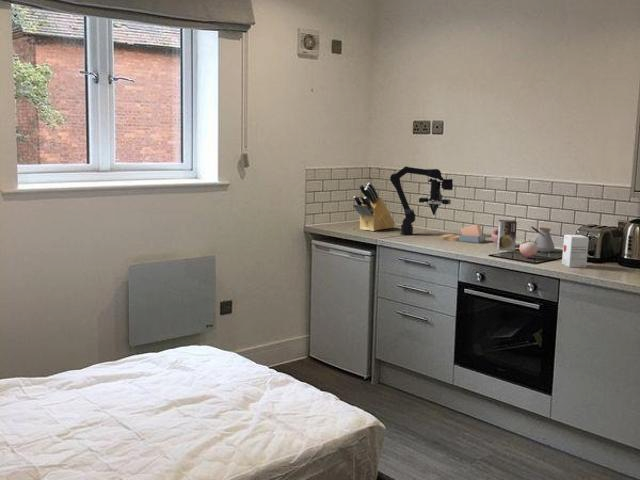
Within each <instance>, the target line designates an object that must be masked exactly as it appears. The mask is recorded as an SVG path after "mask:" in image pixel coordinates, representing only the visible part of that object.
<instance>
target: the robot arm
mask: <svg viewBox="0 0 640 480" xmlns="http://www.w3.org/2000/svg"><path fill="white" fill-rule="evenodd" d="M406 174H414V175H418V176H419V175H421V176H426V177H429V179H428V180H427V183H430V191H429V193H430V197H429V198H428V197H419V198H418V203H427V205H428V206H429V208H430V209H431V213H432V215H433V216H435V215H436V214H437V210H438V208H439V206H441V205H451V204H452V202H451V199H448V198H443V195H442V193H441V189H442V190H443V191H453V188H454V183H453V180H454V179H452V178H449V179H447V178H444V177H443V176H442V172H441V170H440V169H438V168H428V169H427V168H421V167H420V168H419V167H413V166H412V167H410V166H407V165H406V166H403V167H402V168H401V169H400V170H398V171H397V172H396V173H394V172H393V173H392V174H391V175H390V176H389V177H390V178H389V180H390V183H391V184H392V185H393V187H394V188H395V189H396V193H397V195H398V198H399V200H400V202H401V205H402V208H403V210H404V211H403V212H404V215H405V216H404V218H403V219H402V224H401V226H400V228H401V229H400V233H399V234H400V235H403V236H414V227H413V224H412V223H414V222H415V221H416V215H417V214H416V213H415V210H414V208H412V209H411V207H410V205H409V203H408V200H407V197H406V194H405V192H404V190H403V186H402V182H401V178H403V177H404V175H406Z"/></svg>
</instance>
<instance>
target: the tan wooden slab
mask: <svg viewBox="0 0 640 480" xmlns="http://www.w3.org/2000/svg"><path fill="white" fill-rule="evenodd" d="M459 235H460V234H454V233H443V234H441V235H439V236H438V240H439V241H440V240H442V241H449V242H451V241H452V242H459Z"/></svg>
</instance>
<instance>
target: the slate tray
mask: <svg viewBox="0 0 640 480" xmlns="http://www.w3.org/2000/svg"><path fill="white" fill-rule="evenodd" d="M482 234H483V235H481V236H469V235H462V234H458V235H459V241H458V242H460V243H469V244H470V243H472V244H481V243H483V242H485V241H486V233H482Z"/></svg>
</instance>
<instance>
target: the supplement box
mask: <svg viewBox="0 0 640 480" xmlns="http://www.w3.org/2000/svg"><path fill="white" fill-rule="evenodd" d="M589 240H590V237H588V236H585V235H582V234H564V236H563V245H562V256H561V257H562V258H561V264H562V265H563V266H566V267H568V268H587V264H588V263H587V261H588V250H589V242H590V241H589Z"/></svg>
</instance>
